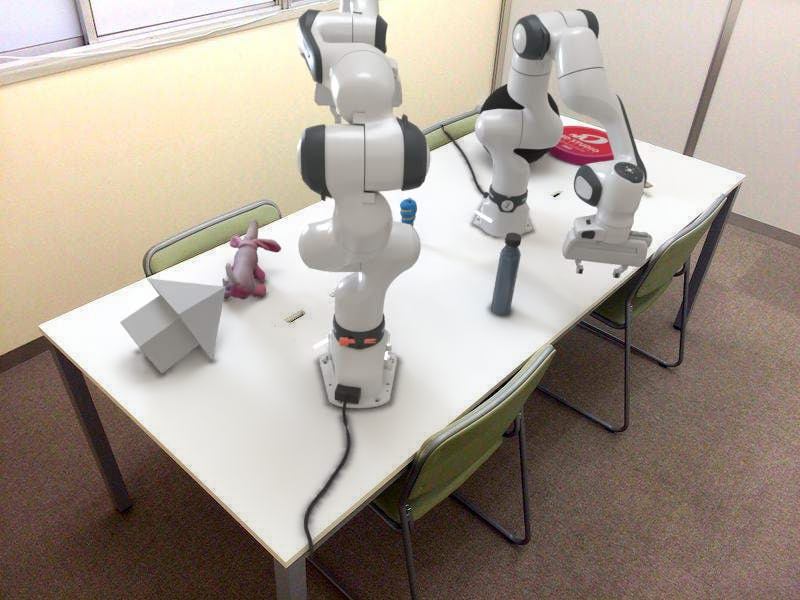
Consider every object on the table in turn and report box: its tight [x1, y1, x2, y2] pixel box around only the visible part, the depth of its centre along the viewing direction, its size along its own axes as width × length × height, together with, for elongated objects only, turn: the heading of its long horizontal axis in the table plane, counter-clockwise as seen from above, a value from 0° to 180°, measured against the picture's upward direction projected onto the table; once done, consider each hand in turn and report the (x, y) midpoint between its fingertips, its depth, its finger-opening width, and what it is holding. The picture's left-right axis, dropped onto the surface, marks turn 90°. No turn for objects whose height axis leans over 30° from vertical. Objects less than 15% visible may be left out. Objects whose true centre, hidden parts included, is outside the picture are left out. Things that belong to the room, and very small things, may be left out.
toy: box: [221, 218, 282, 301], centre depth 179 cm, size 19×24×15 cm
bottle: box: [490, 244, 522, 317], centre depth 171 cm, size 5×5×23 cm
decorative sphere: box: [478, 83, 561, 165], centre depth 243 cm, size 30×30×30 cm
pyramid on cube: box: [119, 277, 226, 374], centre depth 156 cm, size 17×24×18 cm
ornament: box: [399, 195, 418, 227], centre depth 199 cm, size 5×5×15 cm
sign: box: [548, 125, 614, 166], centre depth 263 cm, size 30×4×30 cm
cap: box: [504, 233, 522, 248], centre depth 165 cm, size 4×4×2 cm
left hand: (358, 123), depth 154 cm, fingers open, 8 cm apart
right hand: (597, 274), depth 168 cm, fingers open, 8 cm apart
